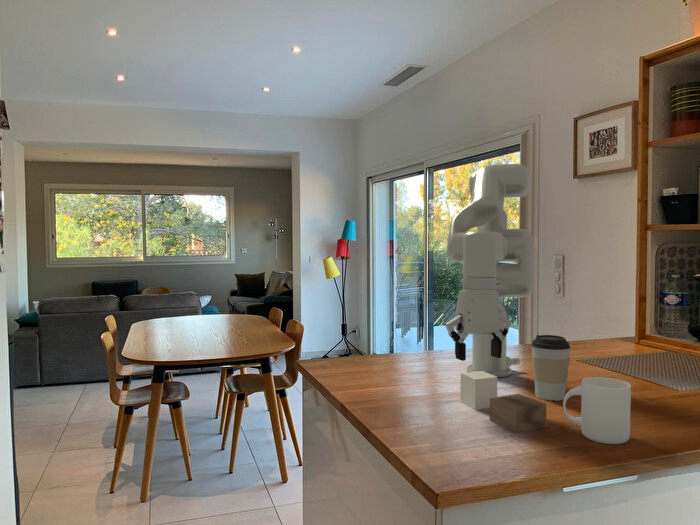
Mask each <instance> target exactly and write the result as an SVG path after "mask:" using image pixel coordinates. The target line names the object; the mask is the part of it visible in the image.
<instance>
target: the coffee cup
mask: <svg viewBox="0 0 700 525" xmlns="http://www.w3.org/2000/svg"><path fill="white" fill-rule="evenodd" d="M566 339H567V338H565V337H564V336H561V335H552V334H540V335H539V334H536V336H535V338H534V339H533V340H532V341H531V342H532V343H531V344H530V345H531V348H532V350H531V351H532V354H531V357H532V358H531V359H532V361H531V362H532V371H533V373H532V374H533V379H534V393H535V397H537V398H538V399H541V400H544V399H545V400H546V401H552V400H555V401H562V400H564V397H565V395H566V389H567V382H568V375H569V374H568V373H569V364H570V349H571V344H570V343H569V341H567V340H566Z"/></svg>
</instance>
